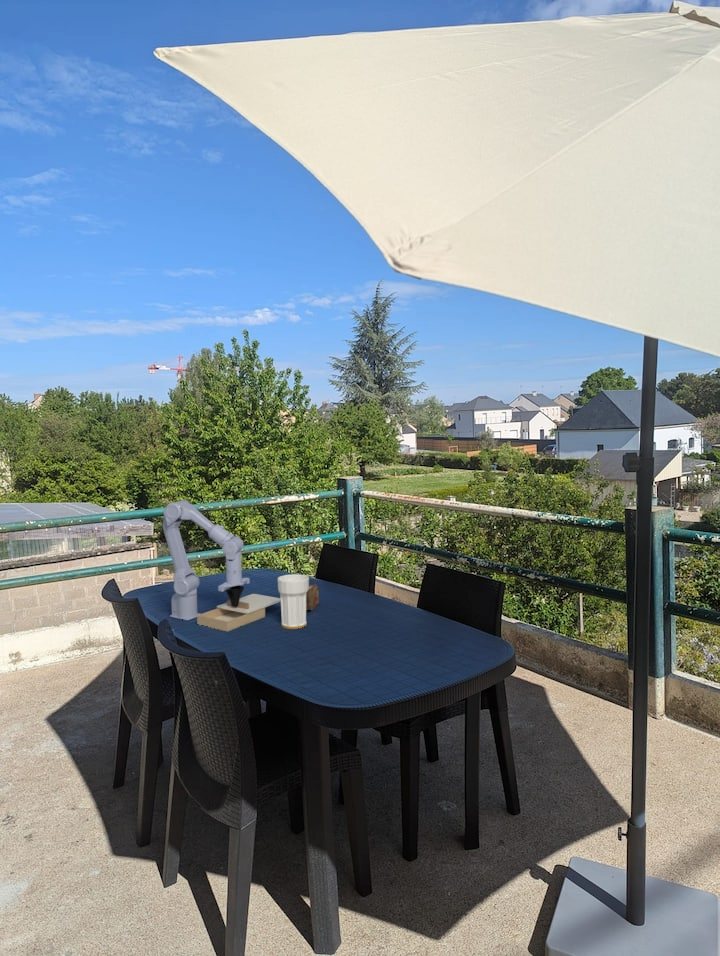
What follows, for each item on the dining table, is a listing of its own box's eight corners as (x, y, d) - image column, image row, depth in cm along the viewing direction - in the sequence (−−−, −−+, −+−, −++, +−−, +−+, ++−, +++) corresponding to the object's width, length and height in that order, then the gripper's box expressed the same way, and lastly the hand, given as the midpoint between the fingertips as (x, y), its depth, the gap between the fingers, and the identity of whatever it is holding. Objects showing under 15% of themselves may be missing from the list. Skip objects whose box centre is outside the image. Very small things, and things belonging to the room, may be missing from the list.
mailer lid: (216, 607, 247) (216, 600, 247) (253, 595, 264) (253, 588, 264) (247, 613, 239) (247, 606, 239) (283, 600, 256) (283, 593, 256)
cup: (271, 625, 237) (270, 578, 236) (295, 618, 246) (294, 572, 244) (292, 632, 230) (291, 583, 228) (316, 624, 238) (315, 577, 236)
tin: (310, 613, 252) (309, 591, 251) (302, 613, 253) (301, 591, 252) (320, 602, 267) (319, 582, 266) (312, 602, 267) (312, 581, 266)
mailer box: (197, 624, 239) (197, 615, 239) (235, 610, 256) (235, 602, 256) (227, 631, 231) (227, 621, 231) (265, 616, 248) (264, 607, 247)
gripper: (227, 575, 235) (228, 612, 236) (255, 567, 247) (256, 602, 248) (213, 573, 239) (214, 609, 240) (241, 565, 251) (242, 600, 252)
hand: (234, 606), depth 244 cm, fingers closed
